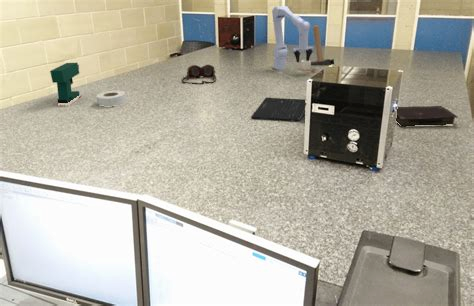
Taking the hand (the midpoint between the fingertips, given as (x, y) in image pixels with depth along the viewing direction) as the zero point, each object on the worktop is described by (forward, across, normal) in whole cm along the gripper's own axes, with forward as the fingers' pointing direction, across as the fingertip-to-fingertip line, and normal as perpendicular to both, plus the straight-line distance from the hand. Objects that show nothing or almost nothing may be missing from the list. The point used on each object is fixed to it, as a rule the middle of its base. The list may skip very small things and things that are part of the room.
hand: (302, 61), depth 271 cm
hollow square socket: (+9, +10, +12) cm, 18 cm away
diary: (+10, +2, -104) cm, 104 cm away
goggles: (+10, -67, +23) cm, 72 cm away
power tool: (+10, -147, +18) cm, 149 cm away
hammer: (+10, +27, +20) cm, 35 cm away
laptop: (+10, -44, -64) cm, 78 cm away
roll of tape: (+10, -128, -4) cm, 128 cm away
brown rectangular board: (+10, +10, +7) cm, 16 cm away
